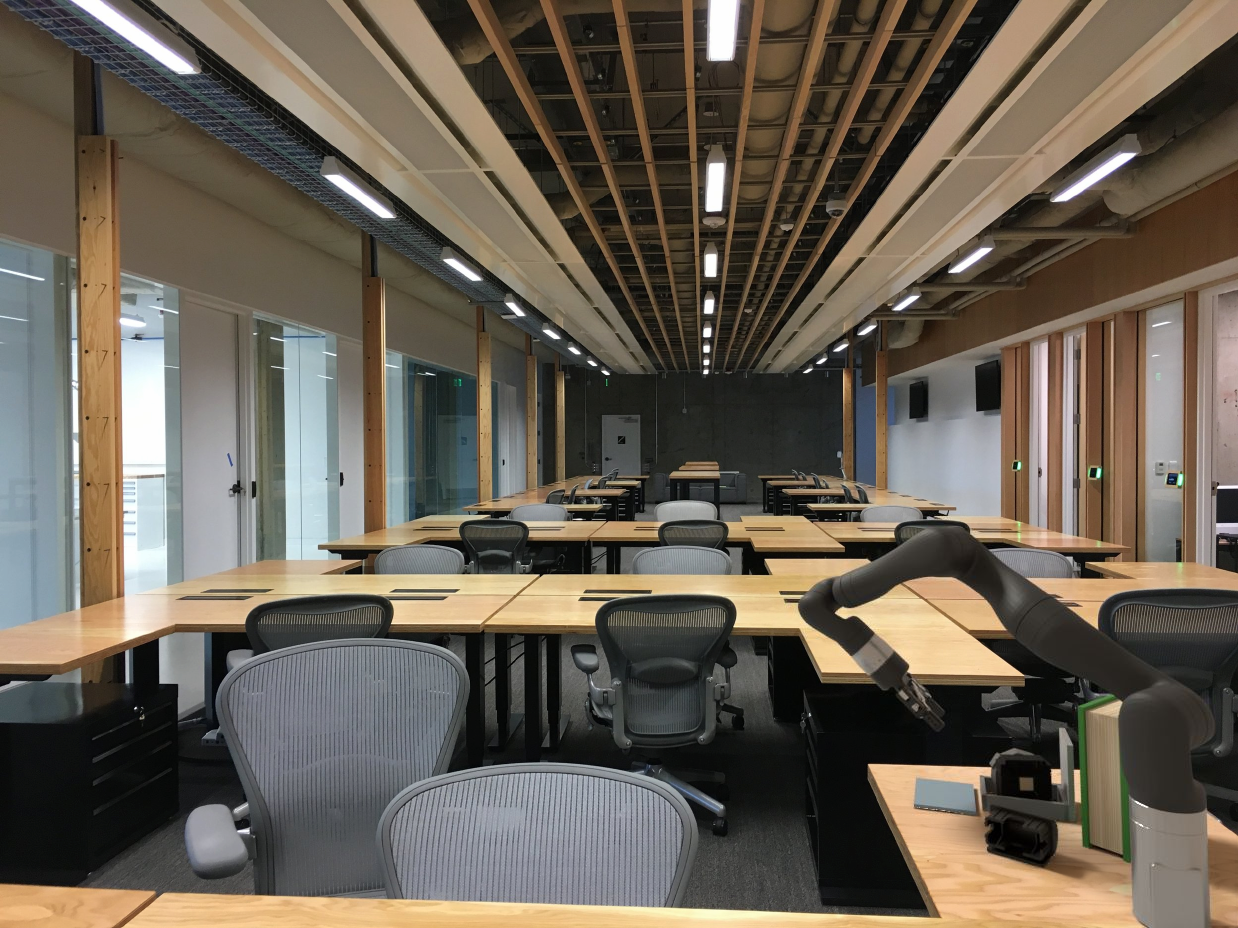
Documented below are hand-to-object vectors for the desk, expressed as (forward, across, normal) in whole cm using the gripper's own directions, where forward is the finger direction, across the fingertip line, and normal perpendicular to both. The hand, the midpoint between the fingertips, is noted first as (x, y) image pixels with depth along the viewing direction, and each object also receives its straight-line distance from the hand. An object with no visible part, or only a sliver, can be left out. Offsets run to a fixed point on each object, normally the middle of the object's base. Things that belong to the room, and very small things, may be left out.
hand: (941, 722), depth 160 cm
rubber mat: (+10, -1, +10) cm, 15 cm away
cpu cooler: (+21, 0, +1) cm, 21 cm away
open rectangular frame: (+20, 0, 0) cm, 20 cm away
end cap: (+19, -21, +2) cm, 28 cm away
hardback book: (+32, -10, -11) cm, 35 cm away
